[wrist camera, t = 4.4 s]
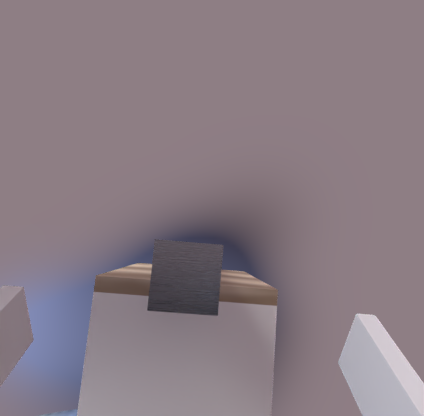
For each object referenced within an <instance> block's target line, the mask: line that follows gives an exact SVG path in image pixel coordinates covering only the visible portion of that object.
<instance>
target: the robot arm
mask: <svg viewBox="0 0 424 416" xmlns="http://www.w3.org/2000/svg"><path fill="white" fill-rule="evenodd" d="M32 342H33V334H32V329H31V324H30V318H29V313H28V308H27V303H26V297H25V292H24V287H17V286H5V285H4V286H2V287H1V288H0V387H1V385H2V384H3V382H4V381H5V380H6V378H7V377H8V375H9V374H10V372H11V371H12V370H13V368H14V367H15V365H16V364H17V363H18V361H19V360H20V358H21V357H22V356H23V354H24V353H25V351H26V350H27V349H28V347H29V346H30V344H31V343H32ZM338 363H339V366H340V367H341V370H342V372H343V374H344V376H345V379H346V381H347V383H348V385H349V387H350V389H351V392H352V394H353V396H354V398H355V400H356V403H357V405H358V407H359V409H360V412H361V414H362V416H424V383H423V382H422V380H421V379H420V378H419V376H418V375H417V373H416V372H415V371H414V369H413V368H412V366H411V365H410V364H409V362H408V361H407V359H406V358H405V356H404V355H403V354H402V352H401V351H400V349H399V348H398V347H397V345H396V344H395V342H394V341H393V340H392V339H391V337H390V335H389V334H388V333H387V331H386V330H385V328H384V327H383V326H382V325H381V323H380V321H379V320H378V319H377V317H376V316H375V315H367V314H356V316H355V319H354V321H353V324H352V327H351V330H350V332H349V335H348V338H347V340H346V343H345V345H344V348H343V351H342V353H341V356H340V359H339V361H338Z"/></svg>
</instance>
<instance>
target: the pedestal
mask: <svg viewBox="0 0 424 416" xmlns="http://www.w3.org/2000/svg"><path fill="white" fill-rule="evenodd" d="M151 270H152V264H144V263H137V264H134V265H130V266H127V267H123V268H120V269H117V270H113V271H110V272H106V273H103V274H100V275H96V279H95V286H94V294H93V301H92V309H91V316H90V324H89V331H88V338H87V346H86V354H85V361H84V368H83V375H82V383H81V391H80V398H79V405H78V413H77V416H271V410H272V391H273V372H274V350H275V332H276V312H277V293H278V290H277V289H275V288H273V287H271V286H269V285H268V284H266V283H264V282H262V281H260V280H259V279H257V278H255V277H253V276H251V275H249V274H248V273H246V272H242V271H230V270H221V281H220V294H219V307H218V316H212V315H199V314H185V313H172V312H158V311H147V307H148V298H149V289H150V280H151Z"/></svg>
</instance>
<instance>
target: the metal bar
mask: <svg viewBox="0 0 424 416" xmlns="http://www.w3.org/2000/svg"><path fill="white" fill-rule="evenodd" d="M222 255H223V245H215V244H203V243H191V242H180V241H179V242H178V241H168V240H156V239H155V243H154V252H153V261H152V270H151V280H150V289H149V298H148V307H147V311H158V312H172V313H185V314H199V315H212V316H218V307H219V294H220V281H221V268H222Z"/></svg>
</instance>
